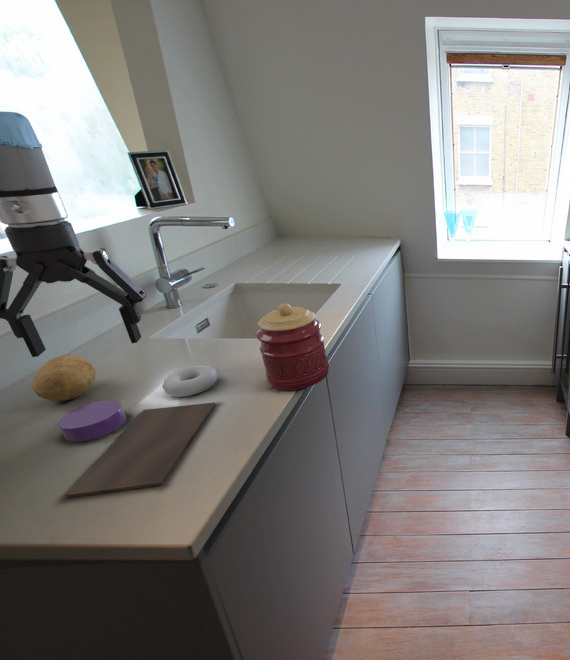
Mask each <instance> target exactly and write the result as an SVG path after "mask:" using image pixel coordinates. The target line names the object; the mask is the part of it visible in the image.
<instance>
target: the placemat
mask: <svg viewBox="0 0 570 660" xmlns="http://www.w3.org/2000/svg"><path fill="white" fill-rule="evenodd" d="M216 405H217V403H216V402H207V403H197V404H189V405H178V406H177V405H176V406H169V407H159V408H149V409H143V410H142V411H141V412H140V414H138V415H137V416H136V418H135V419H134V420H133V421H132V422H131V423H130V424H129V425H128V427H127V428H126V429H124V431H123V432H122V433H121V434H120V435H119V436H118V437H117V439H115V440H114V442H112V444H111V445H110V446H109V447H108V448H107V450H105V452H104V453H103V454H102V455H101V456H100V457H99V458H98V459H97V460H96V461H95V462H94V463H93V465H91V466H90V468H89V469H88V470H87V471H86V472H85V473H84V474H83V475H82V476H81V478H80V479H78V481H77V482H76V483H75V484H74V485H73V487H71V489H70V490H69V491H67V493H66V494H65V497H66V498H67V499H70V498H77V497H84V496H93V495H100V494H107V493H115V492H116V493H117V492H122V491H130V490H137V489H146V488H154V487H161V486H163V484H164V483H165V482H166V480H167V479H168V477H169V476H170V475H171V472H172V471H173V469H174V468H175V467H176V465H177V464H178V462H179V460H180V459H181V457H183V455H184V453H185V452H186V451H187V449H188V447H189V446H190V444H191V443H192V441H193V440H194V438H195V437H196V435H197V434H198V432H199V431H200V429H201V428H202V426H203V425H204V424H205V422H206V420H207V419H208V418H209V416H210V414H211V413H212V412H213V410H214V409H215V407H216Z"/></svg>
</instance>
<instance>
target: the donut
mask: <svg viewBox="0 0 570 660" xmlns="http://www.w3.org/2000/svg"><path fill="white" fill-rule="evenodd" d="M217 380H218V372H217V371H216V370H215V369H214V367H212V366H208V365H203V364H202V365H191V366H185V367H183V368H180V369H177V370H175V371H173V372H171V373H170V374H169V375H167V377H166V378H164V380H163V383H162V389H163V390H164V392H165V393H166V394H167V395H168V396H171V397H177V398H181V397H189V396H194V395H198V394H200V393H203V392H205V391H207V390H209V389H210V388H211V387H213V386H214V385H215V383H216V382H217Z"/></svg>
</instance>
